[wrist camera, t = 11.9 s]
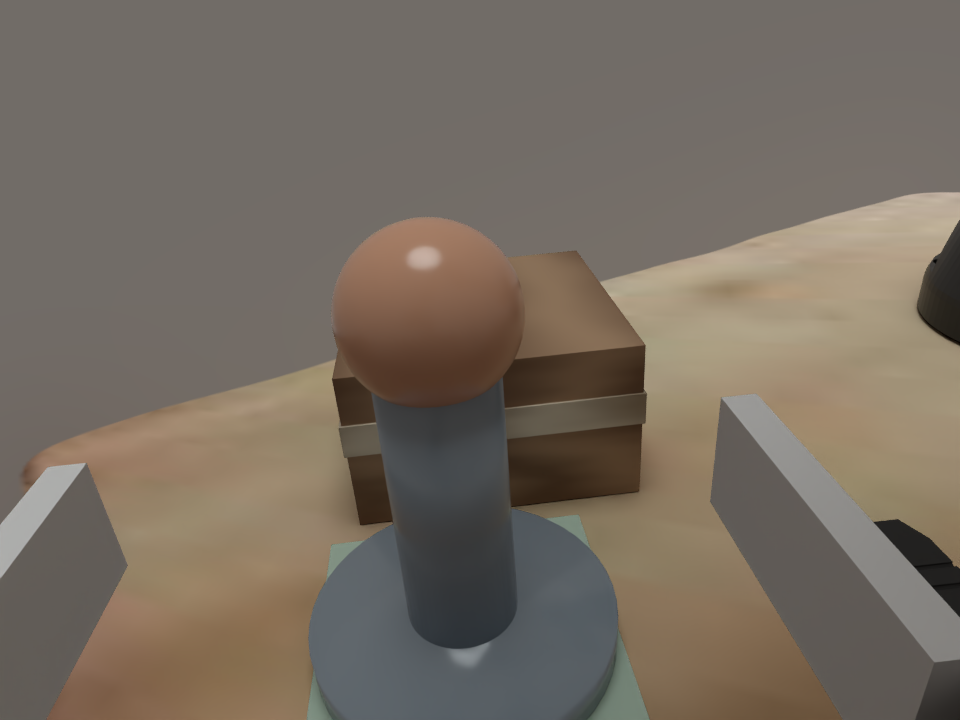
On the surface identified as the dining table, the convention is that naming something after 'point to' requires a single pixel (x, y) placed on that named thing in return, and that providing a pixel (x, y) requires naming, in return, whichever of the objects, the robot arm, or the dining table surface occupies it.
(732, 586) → the dining table surface
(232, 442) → the dining table surface
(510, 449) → the box
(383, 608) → the arcade joystick
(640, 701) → the mat
